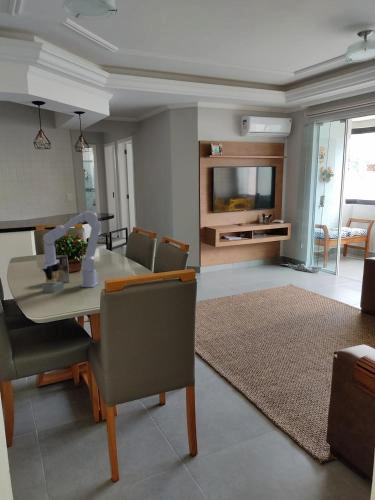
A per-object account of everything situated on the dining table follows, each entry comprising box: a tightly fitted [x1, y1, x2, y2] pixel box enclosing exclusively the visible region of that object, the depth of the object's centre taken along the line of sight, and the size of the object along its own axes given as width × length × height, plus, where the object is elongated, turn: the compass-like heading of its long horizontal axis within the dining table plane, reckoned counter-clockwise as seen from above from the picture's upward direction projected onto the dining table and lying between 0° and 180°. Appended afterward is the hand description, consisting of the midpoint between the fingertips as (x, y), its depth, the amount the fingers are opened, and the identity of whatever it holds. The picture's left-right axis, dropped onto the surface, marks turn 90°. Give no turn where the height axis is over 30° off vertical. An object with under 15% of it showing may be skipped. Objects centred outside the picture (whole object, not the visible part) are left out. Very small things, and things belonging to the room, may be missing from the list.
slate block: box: [41, 282, 65, 294], centre depth 205 cm, size 8×8×4 cm
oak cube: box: [45, 271, 59, 283], centre depth 204 cm, size 5×5×5 cm
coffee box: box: [56, 254, 71, 283], centre depth 221 cm, size 9×6×16 cm
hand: (52, 278), depth 204 cm, fingers closed on oak cube, 5 cm apart
